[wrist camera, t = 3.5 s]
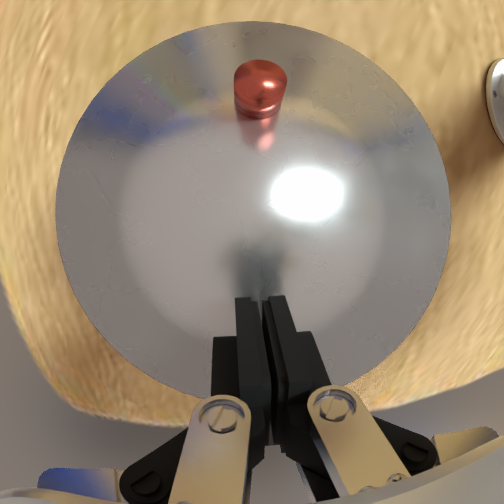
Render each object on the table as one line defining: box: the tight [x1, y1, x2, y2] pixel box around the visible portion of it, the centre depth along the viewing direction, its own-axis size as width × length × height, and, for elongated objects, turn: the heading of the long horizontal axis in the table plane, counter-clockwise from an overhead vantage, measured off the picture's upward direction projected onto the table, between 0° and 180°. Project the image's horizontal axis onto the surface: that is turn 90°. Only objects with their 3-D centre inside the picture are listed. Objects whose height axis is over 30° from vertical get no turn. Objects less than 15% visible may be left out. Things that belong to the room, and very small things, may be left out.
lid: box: [56, 21, 451, 446], centre depth 11 cm, size 18×20×3 cm
